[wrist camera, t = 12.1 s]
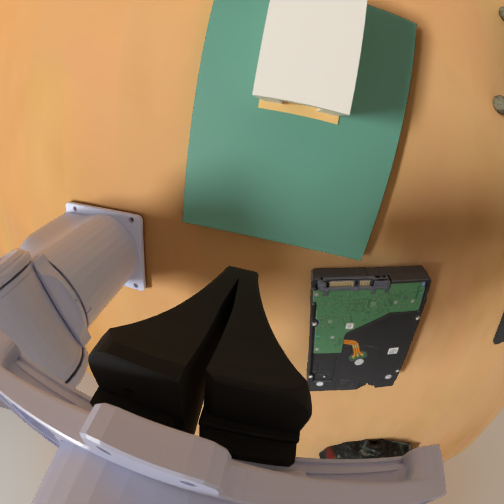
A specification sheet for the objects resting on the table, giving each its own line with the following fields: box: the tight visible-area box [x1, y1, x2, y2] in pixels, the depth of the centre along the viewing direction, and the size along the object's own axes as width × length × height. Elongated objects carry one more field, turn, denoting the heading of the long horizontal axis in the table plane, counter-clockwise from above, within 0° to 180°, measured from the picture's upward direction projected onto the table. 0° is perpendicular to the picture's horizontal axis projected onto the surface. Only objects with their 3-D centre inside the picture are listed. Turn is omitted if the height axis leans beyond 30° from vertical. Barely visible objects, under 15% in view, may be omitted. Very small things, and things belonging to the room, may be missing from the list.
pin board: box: [182, 0, 417, 261], centre depth 15 cm, size 14×19×4 cm
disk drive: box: [307, 266, 431, 391], centre depth 24 cm, size 10×3×15 cm
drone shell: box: [319, 439, 412, 459], centre depth 37 cm, size 21×20×8 cm
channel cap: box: [252, 0, 367, 116], centre depth 11 cm, size 5×8×5 cm, turn 171°
